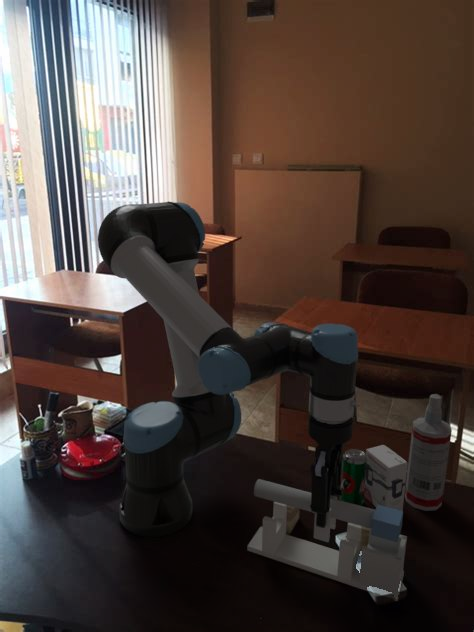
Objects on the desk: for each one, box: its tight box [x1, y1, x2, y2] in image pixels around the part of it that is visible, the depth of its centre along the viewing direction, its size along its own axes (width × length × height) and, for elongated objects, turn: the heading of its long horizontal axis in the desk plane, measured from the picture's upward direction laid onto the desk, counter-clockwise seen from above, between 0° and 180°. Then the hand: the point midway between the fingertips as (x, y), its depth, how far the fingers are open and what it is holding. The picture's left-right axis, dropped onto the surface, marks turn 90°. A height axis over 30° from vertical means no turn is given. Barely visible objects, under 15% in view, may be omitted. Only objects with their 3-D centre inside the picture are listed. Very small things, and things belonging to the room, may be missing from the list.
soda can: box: [339, 448, 367, 506], centre depth 116 cm, size 5×5×12 cm
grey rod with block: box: [253, 478, 404, 542], centre depth 96 cm, size 26×4×3 cm, turn 65°
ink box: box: [364, 444, 408, 512], centre depth 116 cm, size 8×5×12 cm, turn 23°
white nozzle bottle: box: [404, 393, 453, 512], centre depth 115 cm, size 8×8×25 cm
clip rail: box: [246, 501, 408, 602], centre depth 99 cm, size 28×7×8 cm, turn 64°
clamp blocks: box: [286, 505, 370, 551], centre depth 106 cm, size 19×6×6 cm, turn 64°
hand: (324, 532), depth 98 cm, fingers closed on grey rod with block, 3 cm apart
